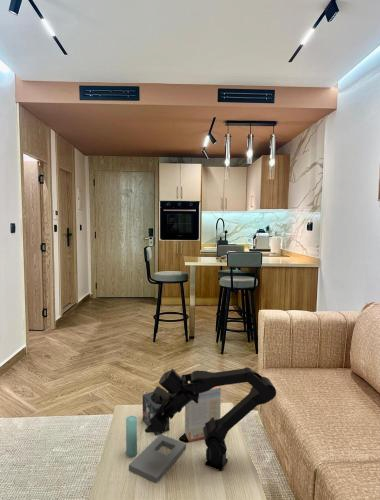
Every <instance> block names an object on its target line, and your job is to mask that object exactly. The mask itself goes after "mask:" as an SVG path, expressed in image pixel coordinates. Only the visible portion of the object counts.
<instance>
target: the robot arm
mask: <svg viewBox="0 0 380 500" xmlns="http://www.w3.org/2000/svg"><path fill="white" fill-rule="evenodd" d="M243 383H244V384H245V383H248V384H249V385H251V388H250V391H249V393H248V394H247V395H245V396H244V397H243V398H242V399H241V400H240V401H239V402H237V404H235V405H234V406H233V407H232V408H231V409H230V410H229V411H228V412H226V413H225V414H224V415H223V416H221V417H220V419H217V420H215V419H214V417H213V418H211V419H210V421H209V422H207V423H205V426H204V428H203V434H204V438H203V439H204V443H205V447H207V448H206V449H205V452H206V453H205V460H206V461H205V463H204V464H205V466H207V467H209V468H213V469H215V470H216V471H219V472H222V470H223V469H224V468H225V466H226V464H227V462H228V458H227V450H228V449H227V445H226V444H227V443H226V440H225V439H226V437H227V434H228V433H229V431H230V430H231V429H232V428H234V427H235V426H236V425H237V424H238V423H239V422H240V421H242V419H244V418H245V417H246V416H247V415H248V414H250V413H251V412H252V411H253V410H254V409H256V407H258V406H261V405H265V404H267V403H269V402H270V401H272V400H273V399H275V397H276V396H277V390H276V389H277V388H276V387H275V385H274V384H273V382H272V381H271V380H270V379H269V378H268V377H266V376H262V375H261V374H259V373H258V372H257V371H255V370H253V369H252V367H251V368H250V367H248V366H245V367H243V368H238V369H231V370H225V371H224V370H223V371H216V372H211V371H208V370H207V371H206V370H195V371H192V373H186V374H182V375H181V374H179V373H177V372H176V370H175V369H173V368H171V369H170V370H167V371H166V372H164V373H163V375H161V377H160V379H159V381H158V384H159V385H160V386H156V387H155V388H154V390H153V391H154V392H153V391H152V392H153V394H152V396H151V400H152V402H154V403H156V404H160V408H159V409H158V411H157V412H155V413H154V414H153V415H152V417H151V418H150V424H149V426H146V428H145V429H144V432H145V433H146V434H148V433H153V432H159V433H160V434H162V435H163V433H166V432H167V431H166V429H167V427H168V421H167V418H168V417H169V420H172V419H173V418H174V417H175V415H176V414H178V413H181V412H182V410H183V408H185V406H186V405H187V404H188V403H189V402H190V401H192V400H193V401H194V402H195V403H197V404H198V399H199V394H200V393H203V392H206V391H209V390H211V389H212V388H214V387H217V386H220V387H222V386H228V385H237V384H243ZM161 404H162V405H161ZM165 431H166V432H165ZM160 434H159V435H160Z"/></svg>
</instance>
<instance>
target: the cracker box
mask: <svg viewBox="0 0 380 500" xmlns="http://www.w3.org/2000/svg"><path fill="white" fill-rule="evenodd" d="M221 387H222V386H217V387H214V388H212V389H211V390H209V391H206V392H203V393H200V394H199V399H198V404H197V403H195V402H194V401H193V400H192V401H190V402H189V403H188V404H187V405H186V406H184V435H185V436H186V438H187V440H188V442H195V441H198V440H203V439H204V434H203V428H204V426H205V423H207V422H209V421H210V419H211V418H213V417H214V419H215V420H217V419H220V418H221V404H222V403H221V401H222V400H221V396H222V392H221V391H222V389H221Z"/></svg>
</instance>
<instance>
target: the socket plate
mask: <svg viewBox="0 0 380 500" xmlns="http://www.w3.org/2000/svg"><path fill="white" fill-rule="evenodd" d="M162 446H164V447H166V448H168V449H171V450H170V451H169V452H168V453H167V454H165V453H164V452H162V451H159V450H160V448H162ZM186 449H187V443H185V442H183V441H180V440H178V439H174V438H172V437H169V436H166V435H164V434H163V433H162V434H158V435H157V437H156V438H155V439H154V440H153V441H151V443H150V444H148V446H147V447H145V449H143V450H142V451H141V453H139V455H136V456H135V458H134V459H133V460H132V461H131V462H130V463H129V464H128V471H130V472H132V473H135V474H136V475H139V476H140V477H142V478H144V479H147V480H149V481H151V482H153V483H155V484H158V483H159V482H160V480H161V479H162V478H163V476H165V474H166V473H167V472H168V471H169V469H170V468H171V467H172V466H173V465H174V464H175V462H176V461H177V460H178V459H179V458H180V456H181V455H182V454H183V453H184V452H185V451H186Z"/></svg>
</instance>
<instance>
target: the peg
mask: <svg viewBox="0 0 380 500" xmlns="http://www.w3.org/2000/svg"><path fill="white" fill-rule="evenodd" d="M125 421H126V422H125V430H126V431H125V435H126V437H125V442H126V443H125V445H126V446H125V449H126V451H125V454H126V457H127V458H129V459H130V458H131V459H132V458H134V457H135V458H136V457H137V456H138V455H137V454H138V417H137V416H135V415H129V416H126V418H125Z"/></svg>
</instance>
